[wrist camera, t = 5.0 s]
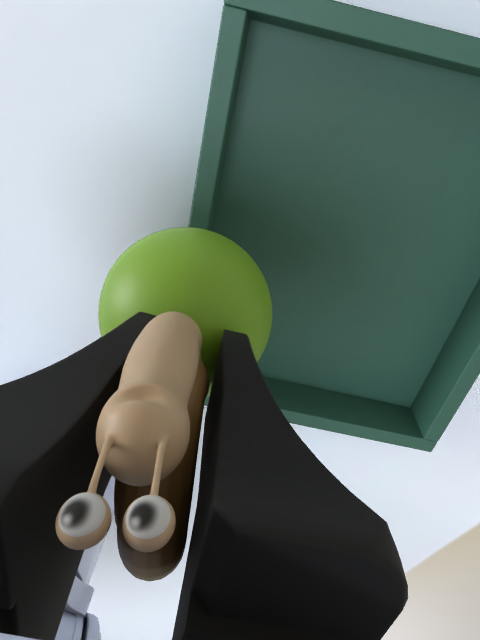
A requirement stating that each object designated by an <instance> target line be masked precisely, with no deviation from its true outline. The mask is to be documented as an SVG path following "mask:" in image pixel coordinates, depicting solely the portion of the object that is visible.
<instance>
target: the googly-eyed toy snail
mask: <svg viewBox="0 0 480 640" xmlns="http://www.w3.org/2000/svg"><path fill="white" fill-rule="evenodd" d="M138 312H144V313H149V314H152V315H156V317H155V318H154V319H152V320H151V321H150V322H149V323H148V324H147V325H146V326H145V328H144V329H143V330H142V332H141V333H140V335H139V336H138V337H137V339H136V340H135V342H134V344H133V346H132V348H131V350H130V352H129V354H128V356H127V358H126V361H125V364H124V367H123V370H122V374H121V379H120V383H119V388H118V390H117V391H116V392H115V393H114V394H113V395H112V396H111V397H110V398H109V400H108V401H107V402H106V404H105V406H104V407H103V409H102V411H101V414H100V416H99V419H98V423H97V428H96V446H97V451H98V454H99V458H98V461H97V464H96V467H95V470H94V473H93V476H92V479H91V481H90V484H89V488H88V491H87V492H84V493H79V494H76V495H74V496H72V497H71V498H69V499H68V500H67V501H66V502H65V503H64V504H63V505H62V507H61V508H60V510H59V512H58V514H57V517H56V523H55V527H56V533H57V536H58V538H59V540H60V541H61V542H62V543H63V544H64V545H65V546H66V547H68V548H70V549H74V550H85V549H89V548H91V547H93V546H95V545H97V544H98V543H99V542H100V541H101V540H102V539H103V538H104V537H105V536H106V534H107V532H108V530H109V528H110V525H111V518H112V516H111V509H110V506H109V504H108V503H107V501H106V500H105V499H104V498H103V497H102V496H100V495H98V494H96V490H97V486H98V482H99V478H100V475H101V471H102V468H103V465H104V467H105V468H106V469H107V471H108V472H109V473H110V474H111V475H112V476H113V477H115V485H114V514H115V522H116V525H117V542H118V549H119V554H120V557H121V560H122V562H123V564H124V566H125V567H126V569H127V570H128V571H129V572H130V573H131V574H132V575H133V576H135V577H136V578H138V579H141V580H145V581H154V580H159V579H162V578H164V577H165V576H167V575H168V574H170V573H171V572H172V571H173V570H174V569H175V568H176V567H177V565H178V564H179V562H180V561H181V559H182V556H183V553H184V549H185V545H186V538H187V530H188V522H189V515H190V508H191V501H192V493H193V485H194V477H195V469H196V461H197V453H198V445H199V437H200V430H201V422H202V415H203V409H204V402H205V399H206V397H209V396H210V392H211V387H212V382H213V378H214V373H215V369H216V364H217V360H218V355H219V351H220V346H221V341H222V337H223V332H224V329H225V330H230V331H235V332H239V333H244V334H247V336H248V337H249V340H250V344H251V347H252V350H253V353H254V356H255V359H256V361H257V362H258V360H259V359H260V357H261V355H262V353H263V351H264V349H265V347H266V345H267V342H268V339H269V335H270V331H271V325H272V302H271V296H270V292H269V289H268V285H267V283H266V280H265V278H264V276H263V274H262V272H261V270H260V269H259V267H258V266H257V264H256V263H255V261H254V260H253V259H252V258H251V257H250V255H249V254H248V253H247V252H246V251H245V250H243V249H242V248H241V247H240V246H239V245H237V244H236V243H235V242H233V241H231V240H230V239H228V238H226V237H224V236H222V235H220V234H218V233H215V232H212V231H209V230H205V229H200V228H192V227H179V228H171V229H166V230H162V231H158V232H156V233H153V234H150V235H148V236H146V237H144V238H142V239H141V240H139V241H137V242H136V243H135V244H133V245H132V246H131V247H129V248H128V249H127V250H126V251H125V252H124V253H123V254H122V255H121V256H120V257H119V258H118V260H117V261H116V262H115V264H114V265H113V266H112V268H111V270H110V271H109V273H108V275H107V277H106V280H105V282H104V285H103V287H102V291H101V295H100V300H99V312H98V314H99V326H100V332H101V336H104V335H105V334H107V333H109V332H110V331H112V330H113V329H114V328H116V327H117V326H119V325H120V324H122V323H123V322H125V321H126V320H127V319H129V318H130V317H132V316H133V315H135V314H136V313H138Z"/></svg>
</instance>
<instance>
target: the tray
mask: <svg viewBox="0 0 480 640" xmlns="http://www.w3.org/2000/svg"><path fill="white" fill-rule="evenodd" d="M224 4H225V5H224V6H223V11H222V18H221V24H220V30H219V37H218V43H217V49H216V56H215V62H214V68H213V75H212V81H211V87H210V94H209V100H208V106H207V113H206V119H205V125H204V132H203V138H202V144H201V151H200V157H199V163H198V170H197V176H196V182H195V189H194V195H193V201H192V208H191V214H190V221H189V227H192V228H200V229H205V230H209V231H212V232H215V233H218V234H220V235H222V236H224V237H226V238H228V239H230V240H231V241H233V242H235V243H236V244H237V245H239V246H240V247H241V248H242V249H243V250H245V251H246V252H247V253H248V254H249V255H250V257H251V258H252V259H253V260H254V261H255V263H256V264H257V266H258V267H259V269H260V270H261V272H262V274H263V276H264V278H265V280H266V283H267V285H268V289H269V292H270V296H271V302H272V325H271V331H270V335H269V339H268V342H267V345H266V347H265V349H264V351H263V353H262V355H261V357H260V359H259V360H258V362H257V364H258V366H259V369H260V371H261V373H262V375H263V377H264V380H265V382H266V384H267V386H268V388H269V390H270V392H271V394H272V396H273V397H274V399H275V401H276V403H277V405H278V406H279V408H280V410H281V411H282V413H283V414H284V416H285V418H286V419H287V421H288V422H289V423H293V424H298V425H303V426H307V427H312V428H317V429H322V430H327V431H332V432H336V433H341V434H346V435H351V436H356V437H361V438H365V439H370V440H375V441H380V442H385V443H390V444H394V445H399V446H404V447H409V448H414V449H419V450H423V451H428V452H431V451H432V450H433V448H434V447H435V445H436V443H437V441H438V440H439V439H440V437H441V436H442V434H443V432H444V431H445V429H446V427H447V426H448V424H449V423H450V421H451V419H452V418H453V416H454V414H455V413H456V411H457V409H458V408H459V406H460V405H461V403H462V401H463V400H464V398H465V396H466V395H467V393H468V392H469V390H470V388H471V387H472V385H473V383H474V382H475V380H476V378H477V377H478V375H479V374H480V38H477V37H473V36H469V35H465V34H461V33H458V32H454V31H450V30H446V29H442V28H438V27H434V26H430V25H427V24H423V23H419V22H415V21H411V20H407V19H403V18H399V17H396V16H392V15H388V14H384V13H380V12H376V11H372V10H368V9H365V8H361V7H357V6H353V5H349V4H345V3H341V2H337V1H334V0H224ZM209 397H210V396H209ZM209 397H206V399H205V402H204V405H206V406H208V402H209Z"/></svg>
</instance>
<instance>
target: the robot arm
mask: <svg viewBox="0 0 480 640" xmlns="http://www.w3.org/2000/svg"><path fill="white" fill-rule="evenodd" d="M155 317H156V315H152V314H149V313H144V312H138V313H136V314H135V315H133V316H132V317H130V318H129V319H127V320H126V321H125V322H123V323H122V324H120V325H119V326H117V327H116V328H114V329H113V330H112V331H110V332H109V333H107V334H105V335H104V336H102V337H101V338H99V339H98V340H96V341H94V342H93V343H91V344H90V345H88V346H86V347H85V348H83V349H81V350H79V351H78V352H76V353H74V354H72V355H70V356H69V357H67V358H65V359H63V360H61V361H59V362H57V363H55V364H53V365H51V366H49V367H46V368H44V369H42V370H39V371H37V372H35V373H33V374H30V375H28V376H25V377H23V378H20V379H17V380H14V381H11V382H9V383H6V384H3V385H0V640H102V638H101V634H100V627H99V621H98V618H97V617H96V616H95V615H93V614H90V613H86V612H87V609H88V606H89V603H90V600H91V598H92V595H93V592H94V588H93V587H91V586H89V585H88V584H89V581H90V579H91V576H92V573H93V570H94V567H95V565H96V562H97V559H98V556H99V554H100V551H101V548H102V545H103V543H104V540H105V537H106V536H105V537H104V538H103V539H102V540H101V541H100V542H99V543H98V544H97V545H95V546H93V547H91V548H89V549H85V550H74V549H70V548H68V547H66V546H65V545H64V544H63V543H62V542H61V541H60V540H59V538H58V536H57V533H56V527H55V523H56V517H57V514H58V512H59V510H60V508H61V507H62V505H63V504H64V503H65V502H66V501H67V500H68V499H69V498H71V497H72V496H74V495H76V494H79V493H84V492H87V491H88V488H89V484H90V481H91V479H92V476H93V473H94V470H95V467H96V464H97V461H98V458H99V454H98V451H97V446H96V428H97V423H98V419H99V416H100V414H101V411H102V409H103V407H104V406H105V404H106V402H107V401H108V400H109V398H110V397H111V396H112V395H113V394H114V393H115V392H116V391H117V390H118V388H119V383H120V379H121V374H122V370H123V367H124V364H125V361H126V358H127V356H128V354H129V352H130V350H131V348H132V346H133V344H134V342H135V340H136V339H137V337H138V336H139V335H140V333H141V332H142V330H143V329H144V328H145V326H146V325H147V324H148V323H149V322H150V321H151V320H152V319H154V318H155ZM114 485H115V477H113V476H112V475H111V474H110V473H109V472H108V471H107V469H106V468H105V467H104V465H103V468H102V471H101V475H100V478H99V482H98V486H97V490H96V494H98V495H100V496H102V497H103V498H104V499H105V500H106V501H107V503H108V504H109V506H110V509H111V516H112V518H113V515H114ZM112 518H111V520H112ZM407 599H408V585H407V581H406V578H405V574H404V570H403V567H402V563H401V560H400V557H399V554H398V551H397V548H396V545H395V543H394V540H393V538H392V535H391V533H390V530H389V527H388V524H387V522H386V521H385V520H383V519H382V518H381V517H380V516H379V515H377V514H376V513H375V512H374V511H373V510H372V509H370V508H369V507H368V506H367V505H366V504H364V503H363V502H362V501H361V500H360V499H358V498H357V497H356V496H355V495H354V494H353V493H351V492H350V491H349V490H348V489H347V488H346V487H345V486H344V485H343V484H342V483H341V482H340V481H339V480H338V479H337V478H336V477H335V476H334V475H333V474H332V473H331V472H330V471H329V470H328V469H327V468H326V467H325V466H324V465H323V464H322V463H321V462H320V461H319V460H318V459H317V457H316V456H315V455H314V454H313V453H312V452H311V450H310V449H309V448H308V447H307V446H306V445H305V443H304V442H303V441H302V440H301V439H300V437H299V436H298V435H297V433H296V432H295V431H294V429H293V428H292V426H291V425H290V424H289V422H288V421H287V419H286V418H285V416H284V414H283V413H282V411H281V410H280V408H279V406H278V405H277V403H276V401H275V399H274V397H273V396H272V394H271V392H270V390H269V388H268V386H267V384H266V382H265V380H264V377H263V375H262V373H261V371H260V369H259V366H258V364H257V361H256V359H255V356H254V353H253V350H252V347H251V344H250V340H249V337H248V336H247V334H244V333H239V332H235V331H230V330H225V329H224V332H223V337H222V341H221V346H220V351H219V355H218V360H217V364H216V369H215V373H214V378H213V382H212V387H211V392H210V397H209V402H208V407H207V412H206V417H205V424H204V436H203V447H202V458H201V470H200V482H199V493H198V500H197V508H196V514H195V519H194V525H193V530H192V536H191V541H190V546H189V552H188V557H187V563H186V568H185V573H184V579H183V584H182V590H181V595H180V600H179V606H178V611H177V616H176V622H175V627H174V632H173V638H172V640H381V638H382V637H383V636H384V634H385V633H386V632H387V630H388V629H389V627H390V626H391V625H392V624H393V622H394V621H395V620H396V618H397V617H398V615H399V614H400V613H401V612H402V610H403V608H404V606H405V604H406V601H407Z"/></svg>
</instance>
